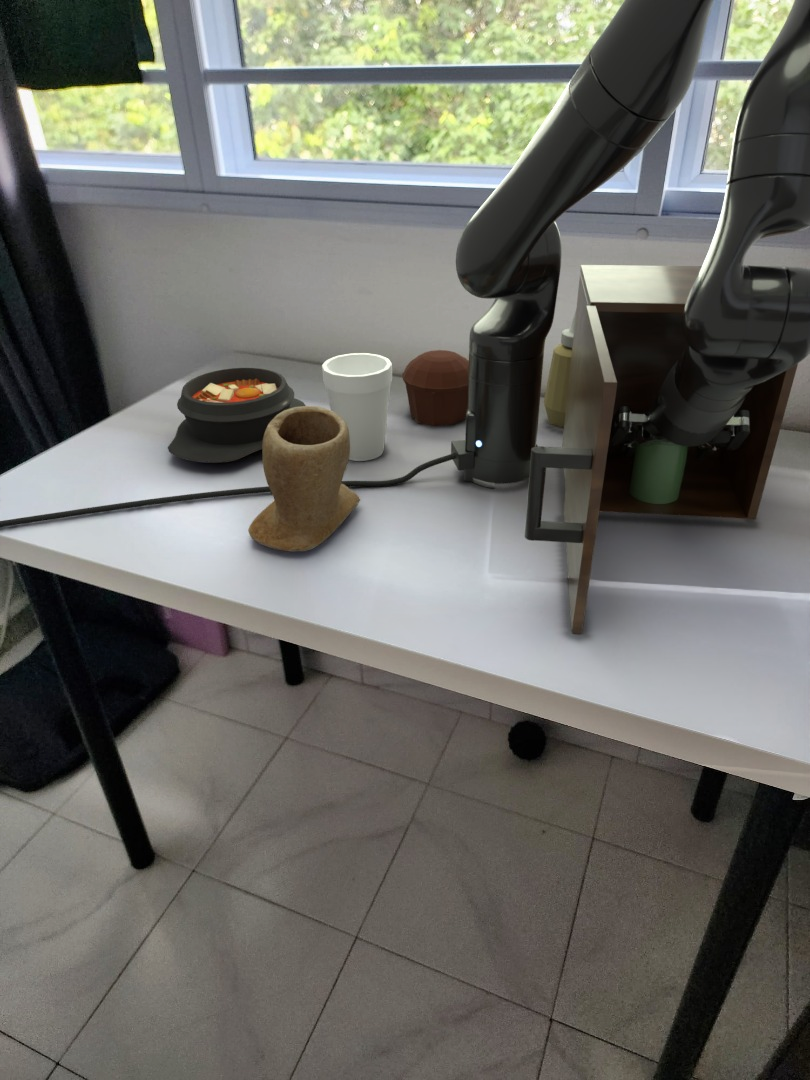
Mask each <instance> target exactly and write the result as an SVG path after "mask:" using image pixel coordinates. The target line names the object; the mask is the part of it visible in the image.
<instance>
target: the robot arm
mask: <svg viewBox="0 0 810 1080" xmlns="http://www.w3.org/2000/svg"><path fill="white" fill-rule="evenodd" d="M713 4H714V0H624V1H623V2H622V3H621V5H620V7H619V8H618V10H617V11H616V13H615V14H614V16H613V18H611V20H610V22H609V23H608V25H607V26H606V27H605V29H604V30H603V32H602V33H601V34H600V36H599V37H598V38H597V40H596V41H595V43H594V44H593V45H592V48H591V49H590V50H589V52H588V53H587V55H586V56H585V58H584V59H583V61H582V62H581V64H580V65H579V67H578V68H577V70H576V72H575V73H574V74H573V75H572V78H571V79H570V80H569V82H568V84H567V85H566V87H565V88H564V90H563V92H562V93H561V95H560V97H559V99H558V100H557V101H556V103H555V105H554V107H553V108H552V110H550V112H549V114H548V115H547V117H546V118H545V120H543V122H542V124H541V125H540V127H539V128H538V130H537V131H536V132H535V134H534V136H533V137H532V138H531V140H530V142H529V143H528V144H527V146H526V147H525V149H524V150H523V152H522V154H521V155H520V157H519V158H518V160H517V161H516V163H515V164H514V165H513V167H512V168H511V170H510V171H509V172H508V174H507V175H506V176H505V177H504V178H503V180H502V181H501V182H500V184H498V186H497V187H496V188H495V189H494V191H493V192H492V193H491V194H490V195H489V197H488V198H487V199H486V200H485V201H484V203H483V204H481V206H480V207H479V209H478V210H477V211H476V212H475V213H474V214H473V216H472V217H471V218H470V219H469V221H468V222H467V224H466V226H465V227H464V229H463V231H462V232H461V235H460V236H459V240H458V242H457V247H456V252H455V271H456V274H457V278H458V280H459V283H460V285H461V286H462V287H463V289H464V290H465V291H467V292H468V293H469V294H471V295H472V296H474V297H477V298H479V299H480V298H481V299H488V300H493V299H494V301H492V304H491V306H490V307H489V308H488V310H487V311H486V312H485V313H484V314H483V315H482V316H480V317H479V318H478V319H477V320H476V321H475V322H474V323H473V324H472V325H471V328H470V330H469V338H468V341H469V342H468V360H469V373H468V407H467V413H466V416H465V434H464V435H465V439H459V440H451V441H450V442H451V443H450V454H446V455H444V456H441V457H437V458H435V459H432V460H429V461H427V462H424V463H422V464H420V465H418V466H416V467H415V468H413V469H412V470H411V471H409V472H408V473H406V474H405V475H403V476H401V477H397V478H393V479H387V480H342V483H341V484H344V485H346V486H347V487H348V488H349V487H360V488H361V487H363V488H365V487H367V488H380V487H391V486H396V485H399V484H403V483H407V482H408V481H410V480H412V479H413V478H414V477H415V476H417V475H418V474H419V473H421V472H423V471H424V470H427V469H429V468H432V467H435V466H437V465H440V464H444V463H446V462H449V461H453V463H454V465H455V468H456V469H457V470H458V471H464V473H463V474H464V478H463V479H464V482H467V483H474V484H476V485H478V486H480V487H485V488H489V489H495V487H496V484H501V485H502V484H503V485H504V484H513V483H518V482H522V481H524V480H526V479H527V480H528V479H529V474H530V461H531V449H532V448H533V447H537V446H538V444H537V441H538V431H539V430H538V429H539V417H540V405H541V394H542V393H541V391H542V381H543V380H542V379H543V371H544V370H543V369H544V359H545V358H544V355H545V345H546V340H547V338H548V335H549V333H550V331H551V329H552V327H553V323H554V319H555V314H556V313H555V312H556V306H557V299H558V291H559V284H560V278H561V277H560V276H561V267H562V255H563V254H562V240H561V239H562V238H561V234H560V231H559V228H558V225H557V223H556V220H558V219H559V218H560V217H561V216H562V215H563V214H565V213H566V212H567V211H568V210H569V209H571V208H572V207H574V206H575V205H576V204H577V203H578V204H579V202H581V201H582V200H584V198H586V197H588V196H589V195H590V194H592V193H593V192H595V191H596V190H597V189H598V188H601V186H603V185H604V184H605V183H606V182H608V181H609V180H611V179H612V178H613V177H614V176H616V175H617V174H618V173H620V171H622V170H623V169H624V168H626V167H627V166H628V165H629V164H630V163H631V162H632V161H633V160H634V159H635V158H636V157H637V156H638V155H639V154H640V153H641V152H642V151H643V149H645V148H646V146H647V145H648V144H649V143H650V142H651V140H652V139H653V138H654V137H655V135H656V134H657V133H658V132H659V131H660V130H661V128H662V127H663V126H664V125H665V124H666V122H667V121H668V120H669V118H670V117H671V116H672V115H673V114H674V113H675V111H676V110H677V109H678V107H679V106H680V105H681V103H682V102H683V100H684V98H685V97H686V95H687V93H688V91H689V89H690V87H691V85H692V82H693V79H694V77H695V73H696V70H697V67H698V63H699V59H700V55H701V51H702V47H703V42H704V37H705V33H706V30H707V24H708V20H709V16H710V12H711V9H712V6H713ZM728 167H729V168H728V173H727V178H726V179H727V180H726V187H725V191H724V198H723V202H722V207H721V211H720V215H719V217H718V222H717V225H716V229H715V232H714V235H713V237H712V240H711V242H710V245H709V248H708V251H707V253H706V256H705V257H704V260H703V263H702V265H701V266H702V267H701V269H700V271H699V273H698V276H697V278H696V280H695V282H694V285H693V287H692V289H691V291H690V294H689V297H688V299H687V302H686V305H685V308H684V313H683V332H684V335H685V338H686V340H687V342H688V344H687V345H686V347H685V349H684V351H683V353H682V354H681V356H680V358H679V360H678V361H677V362H676V363H675V365H674V366H673V367H672V368H671V370H670V371H669V373H668V375H667V377H666V379H665V381H664V383H663V384H662V386H661V388H660V390H659V392H658V394H657V396H656V398H655V400H654V402H653V404H652V407H651V408H650V409H648V410H646V411H645V412H644V413H643V414H632V412H631V411H630V407H628V406H622V407H619V409H618V410H617V412H616V414H615V415H614V417H613V419H612V424H611V431H610V438H609V445H613V446H616V445H619V444H620V453H624V457H631V455H632V453H633V451H634V450H635V447H636V446H639V445H643V446H646V447H649V446H652V445H655V444H658V443H662V442H665V443H669V442H672V443H674V444H677V445H681V446H697V459H698V460H704V459H705V458H706V457H707V456H710V455H712V454H713V453H714V452H715V451H718V450H720V447H723V446H727V449H728V450H736V449H738V448H739V447H740V445H741V444H742V443H743V441H744V440H745V439H746V437H747V436H748V435H749V433H750V420H749V411H748V410H740V411H738V409H739V408H740V406H741V405H742V403H743V401H744V399H745V397H746V395H747V394H748V393H749V392H750V391H751V389H752V388H753V387H754V386H755V385H757V384H760V383H762V382H765V381H767V380H768V379H770V378H772V377H774V376H776V375H778V374H780V373H782V372H784V371H786V370H788V369H790V368H791V367H793V366H795V365H796V364H798V365H799V363H801V362H803V360H804V359H806V358H807V357H808V356H809V355H810V268H807V267H803V266H789V265H788V266H785V265H783V266H778V265H777V266H776V265H758V264H757V265H755V264H744V263H745V258H746V255H747V253H748V251H750V248H751V247H752V246H753V245H754V243H756V242H757V241H759V240H762V239H766V238H770V237H776V236H783V235H789V234H794V233H798V232H802V231H804V230H807V229H809V228H810V0H794V1H793V4H792V7H791V9H790V11H789V13H788V15H787V18H786V19H785V22H784V23H783V26H782V28H781V29H780V31H779V33H778V35H777V37H776V38H775V40H774V42H773V43H772V44H771V46H770V48H769V49H768V51H767V53H766V54H765V56H764V58H763V60H762V62H761V63H760V65H759V67H758V68H757V69H756V72H755V74H754V75H753V77H752V79H751V80H750V83H749V85H748V88H747V90H746V92H745V94H744V97H743V100H742V102H741V105H740V108H739V111H738V115H737V118H736V122H735V127H734V132H733V139H732V145H731V152H730V158H729V166H728ZM737 411H738V412H737ZM736 412H737V413H736ZM735 413H736V415H734V414H735ZM723 428H726V429H727V431H722V430H723ZM636 430H638V436H637V437H636ZM650 434H651V435H653V436H652V437H650ZM262 493H263V494H264V493H272V492H271V490H270V488H269V486H268V485H266V486H257V487H256V486H255V487H245V488H236V489H224V490H216V491H215V490H213V491H205V492H198V493H189V494H180V495H171V496H165V497H164V496H163V497H155V498H149V499H140V500H134V501H126V502H119V503H113V504H106V505H98V506H92V507H83V508H78V509H72V510H71V509H70V510H64V511H58V512H52V513H45V514H39V515H38V514H37V515H31V516H24V517H18V518H11V519H4V520H0V528H5V527H11V526H19V525H24V524H31V523H38V522H43V521H44V522H45V521H51V520H57V519H58V520H59V519H65V518H71V517H78V516H84V515H92V514H97V513H105V512H111V511H120V510H125V509H126V510H127V509H133V508H139V507H146V506H155V505H161V504H162V505H163V504H170V503H177V502H187V501H195V500H203V499H210V498H211V499H212V498H213V499H214V498H221V497H230V496H232V497H233V496H240V495H241V496H242V495H253V494H262Z"/></svg>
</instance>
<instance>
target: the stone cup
mask: <svg viewBox="0 0 810 1080" xmlns="http://www.w3.org/2000/svg"><path fill="white" fill-rule="evenodd" d="M261 451H262V468H263V473H264V477H265V480H266V484H267V486H269V488H270V490H271V492H270V493H271V495H272V497H273V501H272V502H271V503H270V504H268V505H267V506H266V507H265V508H264V509H263V510H262V511H260V513H259V514H258V515H257V516H256V517H255V518H254V519H253V520H252V522H251V523H250V525H249V528H248V529H247V531H248V534H249V536H250V538H251V539H252V540H253V541H254V542H256V543H258V544H261V545H263V546H264V547H268V548H270V549H274V550H278V551H283V552H291V553H292V552H307V551H311V550H313V549H315V548H316V547H318V546H319V545H321V544H322V543H324V542H325V541H326V540H327V539H329V537H330V536H332V535H333V533H334V532H335V531H336V530H337V529H339V528H340V526H341V525H342V524H343V523H344V521H345V520H346V519H347V518H348V517H349V516H350V514H351V513H352V512H353V511H354V510H355V508H356V507H357V506H358V505H359V503H360V501H361V498H360V496H359V495H358V494H357V493H356V492H355V491H353V490H352V489H351V488H349V487H347V486H346V485H344V484H341V483H342V481H343V479H344V475H345V472H346V470H347V467H348V464H349V455H350V436H349V429H348V426H347V424H346V422H345V421H344V420H343V419H342V417H340V416H339V415H337V414H336V413H335V412H333V411H331V409H328V408H325V407H322V406H315V405H306V406H300V407H294V408H290V409H287V410H284V411H282V412H281V413H279V414H278V415H276V416H275V417H274V418H273V419H272V420H271V422H270V423H269V424H268V426H267V428H266V430H265V433H264V437H263V445H262V450H261Z"/></svg>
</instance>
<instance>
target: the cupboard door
mask: <svg viewBox="0 0 810 1080" xmlns="http://www.w3.org/2000/svg"><path fill="white" fill-rule="evenodd" d="M616 388H617V380H616V377H615V373H614V370H613V366H612V362H611V359H610V355H609V352H608V348H607V344H606V341H605V337H604V334H603V330H602V326H601V323H600V319H599V316H598V312H597V308H596V306H586V312H585V321H584V330H583V339H582V348H581V357H580V366H579V375H578V384H577V393H576V402H575V411H574V420H573V429H572V439H571V448H562V446H561V447H559V446H539V445H537V447H533V448H532V449H531V461H530V474H529V477H528V486H527V487H528V489H527V499H526V500H527V501H526V513H525V523H524V524H525V526H524V538H525V539H526V540H528V541H536V542H540V541H541V542H551V543H553V542H554V543H555V542H556V543H565V551H566V564H567V565H566V566H567V579H566V580H567V590H568V603H569V615H570V617H569V618H570V629H571V630H570V631H571V634H576V635H582V634H583V630H584V623H585V617H586V616H585V615H586V607H587V602H588V601H587V600H588V595H589V594H588V593H589V586H590V580H591V573H592V565H593V559H594V551H595V544H596V538H597V530H598V525H599V524H598V523H599V515H600V511H599V509H600V502H601V495H602V488H603V481H604V474H605V467H606V460H607V452H608V445H609V438H610V431H611V424H612V417H613V410H614V403H615V396H616ZM547 468H548V469H564V468H566V469H568V475H567V484H566V490H565V494H564V502H563V511H562V513H563V521H550V520H549V521H548V520H542V516H543V515H542V514H543V507H544V506H543V505H544V495H545V494H544V493H545V483H546V473H547Z"/></svg>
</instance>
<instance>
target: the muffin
mask: <svg viewBox="0 0 810 1080" xmlns="http://www.w3.org/2000/svg"><path fill="white" fill-rule="evenodd" d="M468 373H469V359H468V358H466V357H464V356H462V355H460V354H459V353H457V352H455V351H451V350H444V349H443V350H442V349H437V350H436V349H435V350H429V351H425V352H422V353H421V354H419V355H418V356H416V357H414V358H413V359H412V360H410V361H409V363H407V365H406V366H405V368H404V371H403V372H402V380H403V382H404V385H405V388H406V389H405V390H406V393H407V399H408V405H409V411H410V417H411V418H412V419H413V420H415V421H416V422H417V423H418V424H421V425H428V426H432V427H443V426H453V425H455V424H457V423H461V422H463V421H466V413H467V407H468Z"/></svg>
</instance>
